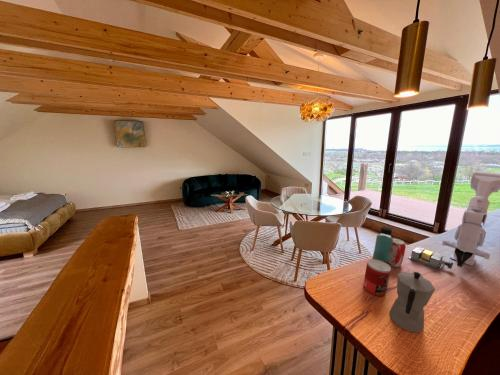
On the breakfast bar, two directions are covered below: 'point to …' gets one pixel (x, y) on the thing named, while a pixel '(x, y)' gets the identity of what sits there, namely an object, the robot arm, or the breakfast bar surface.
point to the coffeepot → (411, 301)
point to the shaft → (444, 263)
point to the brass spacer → (426, 255)
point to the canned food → (376, 277)
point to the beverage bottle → (383, 245)
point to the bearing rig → (433, 260)
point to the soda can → (397, 252)
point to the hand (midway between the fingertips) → (459, 265)
